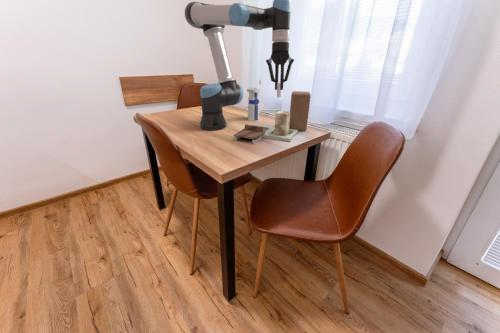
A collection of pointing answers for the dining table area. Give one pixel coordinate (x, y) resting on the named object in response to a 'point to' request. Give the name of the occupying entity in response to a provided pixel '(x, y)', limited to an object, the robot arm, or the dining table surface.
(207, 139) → the dining table surface
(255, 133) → the walnut lid
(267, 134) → the puzzle board
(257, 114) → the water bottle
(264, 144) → the dining table surface
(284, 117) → the beech block
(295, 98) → the wooden block
